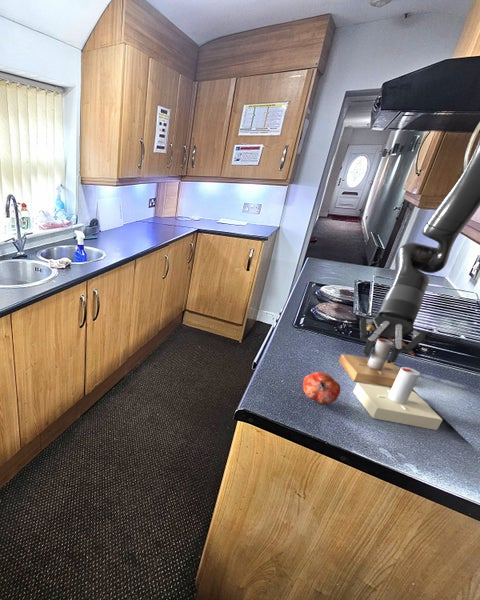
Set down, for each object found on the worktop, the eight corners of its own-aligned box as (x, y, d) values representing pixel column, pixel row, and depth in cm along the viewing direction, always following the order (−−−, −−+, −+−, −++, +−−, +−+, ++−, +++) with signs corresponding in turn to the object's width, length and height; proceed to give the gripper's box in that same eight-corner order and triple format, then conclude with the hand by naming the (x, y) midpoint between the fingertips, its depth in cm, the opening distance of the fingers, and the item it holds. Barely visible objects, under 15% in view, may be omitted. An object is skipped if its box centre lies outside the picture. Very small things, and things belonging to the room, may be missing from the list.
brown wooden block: (386, 370, 94) (390, 360, 92) (407, 391, 85) (412, 381, 84) (338, 362, 97) (341, 353, 96) (353, 382, 88) (357, 372, 87)
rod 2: (401, 396, 78) (415, 367, 75) (409, 405, 75) (424, 375, 72) (384, 393, 79) (398, 364, 76) (392, 402, 76) (406, 372, 73)
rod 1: (378, 364, 91) (389, 338, 88) (384, 370, 88) (396, 344, 85) (364, 362, 92) (375, 336, 88) (370, 368, 89) (381, 342, 86)
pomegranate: (299, 393, 87) (292, 386, 80) (316, 370, 86) (310, 362, 79) (330, 412, 81) (325, 407, 74) (348, 388, 80) (345, 381, 74)
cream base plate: (409, 401, 81) (415, 391, 80) (437, 430, 72) (443, 419, 71) (352, 391, 84) (357, 381, 83) (372, 418, 75) (377, 407, 74)
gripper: (369, 291, 92) (346, 343, 89) (441, 306, 83) (418, 365, 80) (366, 304, 98) (344, 353, 95) (433, 319, 88) (411, 374, 85)
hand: (378, 358), depth 87 cm, fingers open, 4 cm apart
